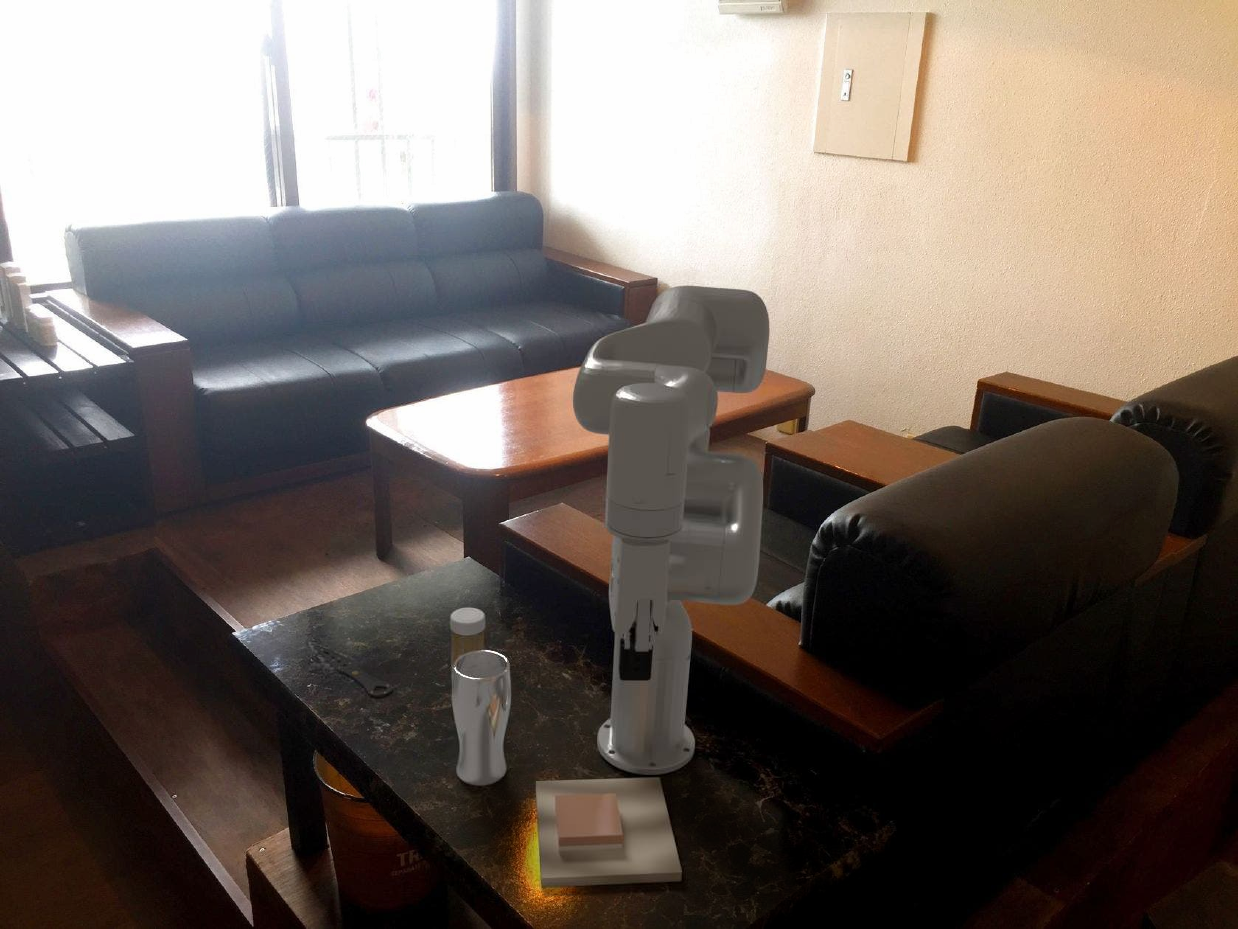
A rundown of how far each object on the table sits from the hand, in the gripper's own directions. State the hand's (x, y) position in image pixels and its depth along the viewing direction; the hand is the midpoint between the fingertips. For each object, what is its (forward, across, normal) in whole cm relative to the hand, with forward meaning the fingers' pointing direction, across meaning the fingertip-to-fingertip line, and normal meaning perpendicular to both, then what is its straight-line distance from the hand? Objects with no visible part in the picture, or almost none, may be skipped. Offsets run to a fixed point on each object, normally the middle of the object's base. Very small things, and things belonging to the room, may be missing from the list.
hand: (634, 676), depth 105 cm
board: (+23, -4, -2) cm, 23 cm away
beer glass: (+24, -15, -16) cm, 32 cm away
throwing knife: (+24, -38, -37) cm, 59 cm away
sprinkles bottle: (+24, -30, -19) cm, 43 cm away
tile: (+21, +1, -4) cm, 21 cm away
